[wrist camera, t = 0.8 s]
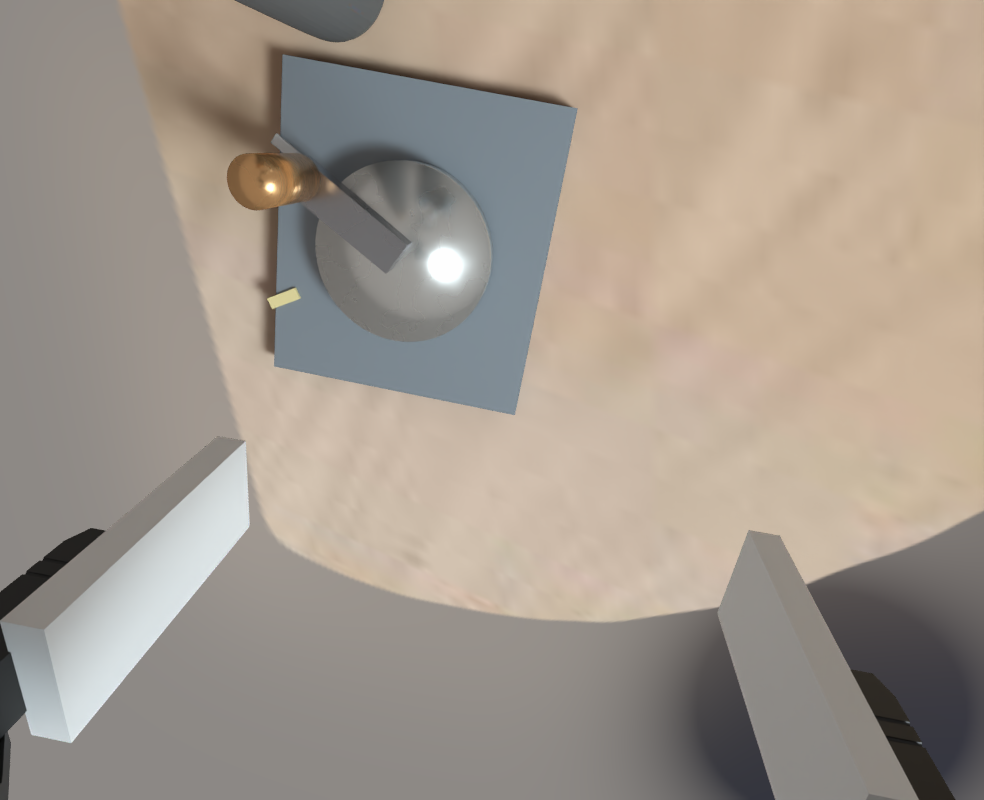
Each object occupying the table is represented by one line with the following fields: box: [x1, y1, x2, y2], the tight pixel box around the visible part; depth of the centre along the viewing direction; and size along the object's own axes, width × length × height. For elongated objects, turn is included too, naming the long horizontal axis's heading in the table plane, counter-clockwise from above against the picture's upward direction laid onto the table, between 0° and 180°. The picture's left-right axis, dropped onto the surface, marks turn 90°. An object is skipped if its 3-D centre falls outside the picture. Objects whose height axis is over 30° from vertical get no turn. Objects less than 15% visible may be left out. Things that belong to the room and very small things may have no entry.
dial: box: [227, 153, 493, 342], centre depth 31 cm, size 10×12×8 cm
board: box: [267, 55, 577, 415], centre depth 36 cm, size 18×16×2 cm
